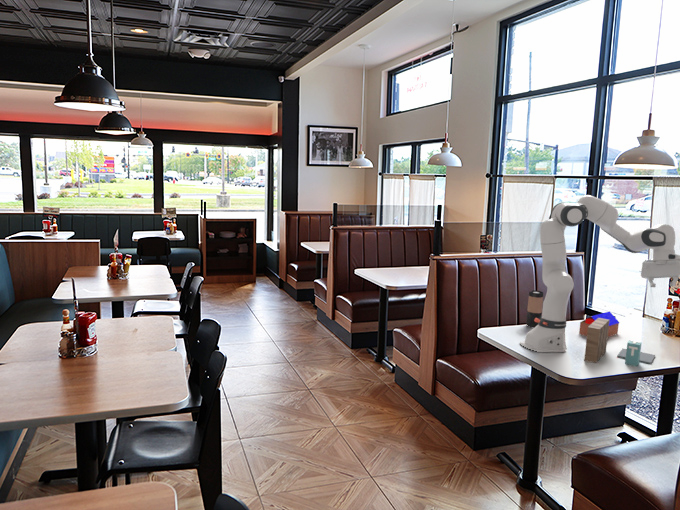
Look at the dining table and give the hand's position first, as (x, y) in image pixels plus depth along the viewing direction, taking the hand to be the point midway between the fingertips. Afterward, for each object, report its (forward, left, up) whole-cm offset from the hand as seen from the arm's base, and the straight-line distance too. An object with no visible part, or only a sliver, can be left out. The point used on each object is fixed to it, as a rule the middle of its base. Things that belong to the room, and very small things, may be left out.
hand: (662, 286), depth 246 cm
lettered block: (-20, -6, -34) cm, 40 cm away
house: (+1, +35, -34) cm, 49 cm away
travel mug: (-25, +56, -34) cm, 70 cm away
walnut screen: (-29, +7, -34) cm, 45 cm away
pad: (-10, +1, -34) cm, 36 cm away
